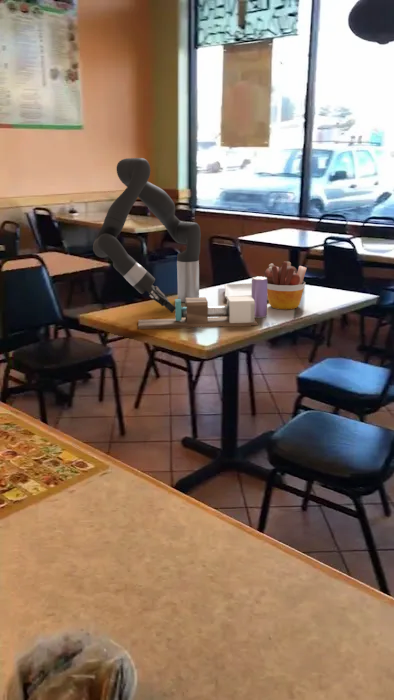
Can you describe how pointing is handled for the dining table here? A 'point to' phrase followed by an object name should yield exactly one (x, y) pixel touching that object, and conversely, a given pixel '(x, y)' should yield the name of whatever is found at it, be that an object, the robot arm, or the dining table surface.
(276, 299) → the bucket of meat
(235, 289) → the square plate
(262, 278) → the beverage can
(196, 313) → the rail board
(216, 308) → the slip tube
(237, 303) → the socket
